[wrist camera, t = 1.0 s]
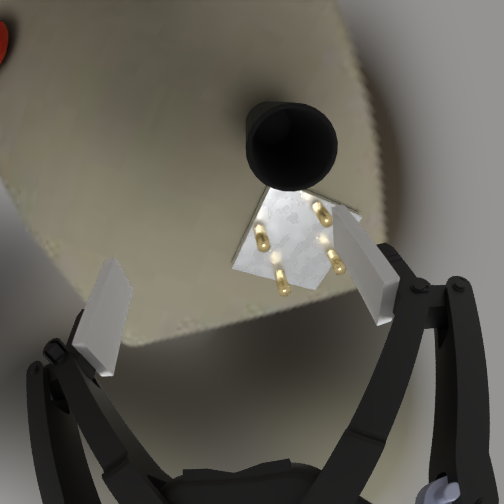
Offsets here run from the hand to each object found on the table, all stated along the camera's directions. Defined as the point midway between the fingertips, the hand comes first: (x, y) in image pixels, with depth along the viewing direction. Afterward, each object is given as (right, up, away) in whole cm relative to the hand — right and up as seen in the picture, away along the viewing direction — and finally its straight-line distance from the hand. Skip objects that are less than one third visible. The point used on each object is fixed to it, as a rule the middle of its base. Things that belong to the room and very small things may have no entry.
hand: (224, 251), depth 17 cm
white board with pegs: (+8, +2, +25) cm, 26 cm away
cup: (+4, +15, +16) cm, 22 cm away
